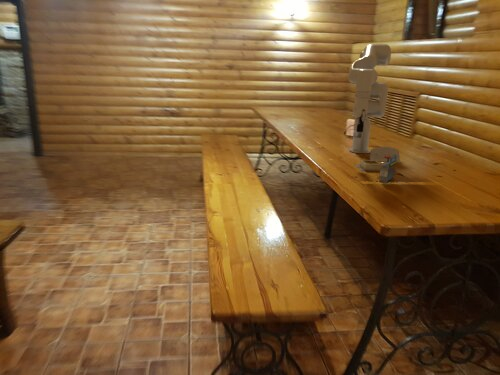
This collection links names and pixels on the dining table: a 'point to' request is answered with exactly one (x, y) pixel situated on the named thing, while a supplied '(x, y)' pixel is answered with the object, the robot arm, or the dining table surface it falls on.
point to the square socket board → (373, 164)
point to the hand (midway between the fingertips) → (358, 130)
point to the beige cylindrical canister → (355, 133)
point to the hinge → (383, 154)
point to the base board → (364, 170)
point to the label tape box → (387, 170)
